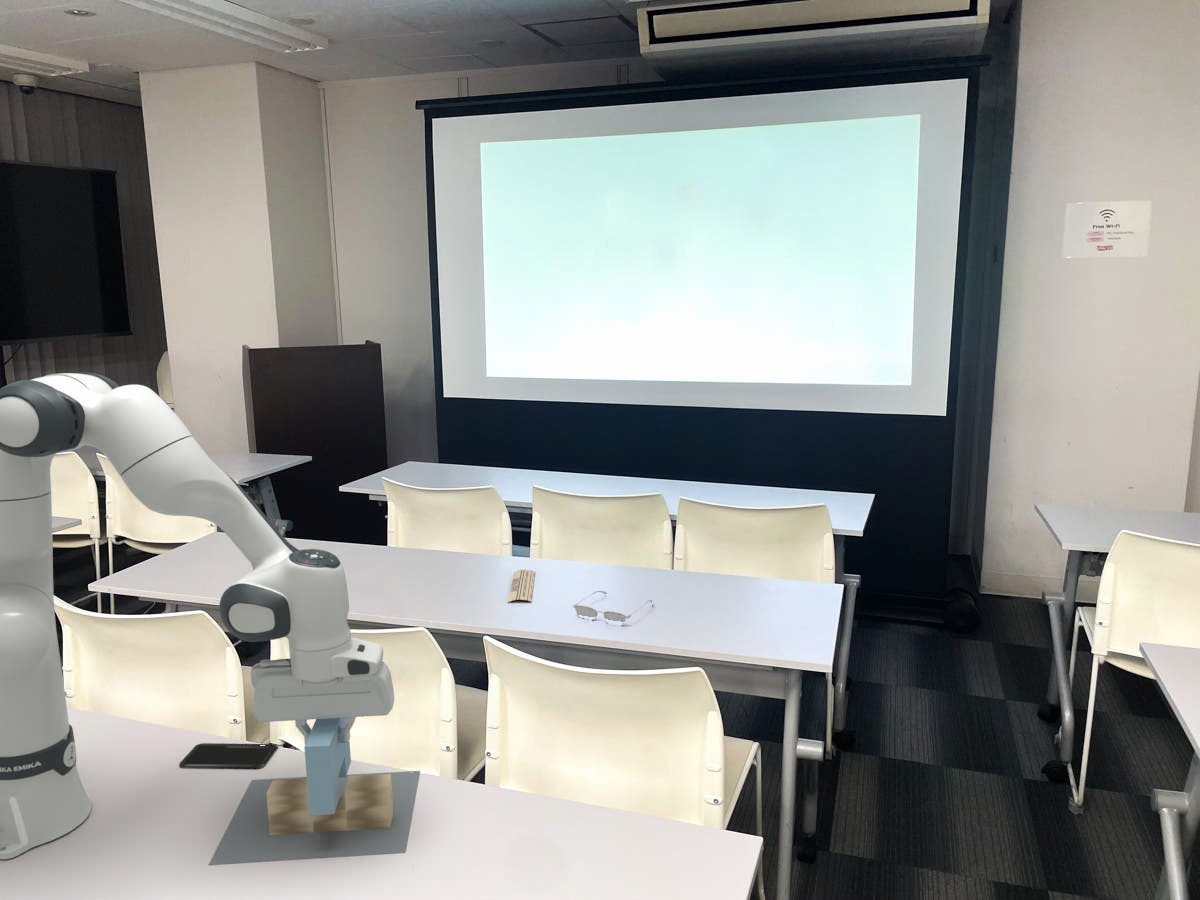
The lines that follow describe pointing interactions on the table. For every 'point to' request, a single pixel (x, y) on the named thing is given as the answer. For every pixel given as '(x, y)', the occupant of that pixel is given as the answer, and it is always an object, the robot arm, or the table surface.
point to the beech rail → (355, 811)
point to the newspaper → (522, 585)
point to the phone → (228, 756)
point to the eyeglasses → (607, 615)
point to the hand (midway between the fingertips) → (327, 742)
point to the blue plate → (325, 765)
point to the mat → (255, 843)
